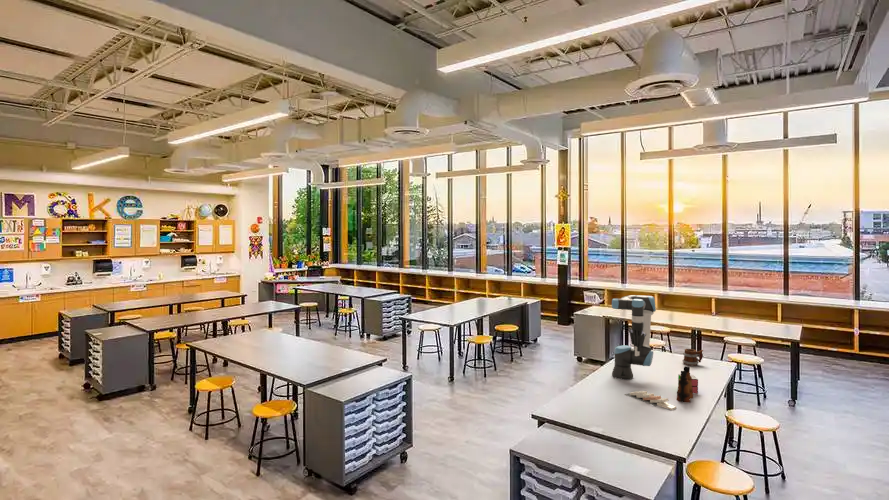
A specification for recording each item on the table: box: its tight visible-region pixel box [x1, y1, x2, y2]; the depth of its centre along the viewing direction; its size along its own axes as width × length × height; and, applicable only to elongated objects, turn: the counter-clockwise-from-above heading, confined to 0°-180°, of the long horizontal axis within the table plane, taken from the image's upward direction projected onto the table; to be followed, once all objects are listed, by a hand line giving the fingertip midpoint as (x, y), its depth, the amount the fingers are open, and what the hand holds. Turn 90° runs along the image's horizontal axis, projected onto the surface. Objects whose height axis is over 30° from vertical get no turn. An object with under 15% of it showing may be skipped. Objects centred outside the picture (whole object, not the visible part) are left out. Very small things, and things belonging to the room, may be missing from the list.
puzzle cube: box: [677, 373, 699, 394], centre depth 326 cm, size 10×10×10 cm
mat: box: [624, 392, 659, 407], centre depth 311 cm, size 24×10×1 cm, turn 30°
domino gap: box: [643, 395, 662, 400], centre depth 306 cm, size 2×5×10 cm
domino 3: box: [650, 397, 669, 403], centre depth 301 cm, size 2×5×10 cm
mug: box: [682, 348, 704, 367], centre depth 389 cm, size 12×14×15 cm
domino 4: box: [657, 402, 677, 411], centre depth 297 cm, size 2×5×10 cm
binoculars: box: [675, 365, 694, 404], centre depth 311 cm, size 18×8×20 cm, turn 143°
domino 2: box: [636, 392, 655, 398], centre depth 310 cm, size 2×5×10 cm
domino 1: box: [629, 390, 648, 395], centre depth 314 cm, size 2×5×10 cm
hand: (637, 355), depth 325 cm, fingers closed
